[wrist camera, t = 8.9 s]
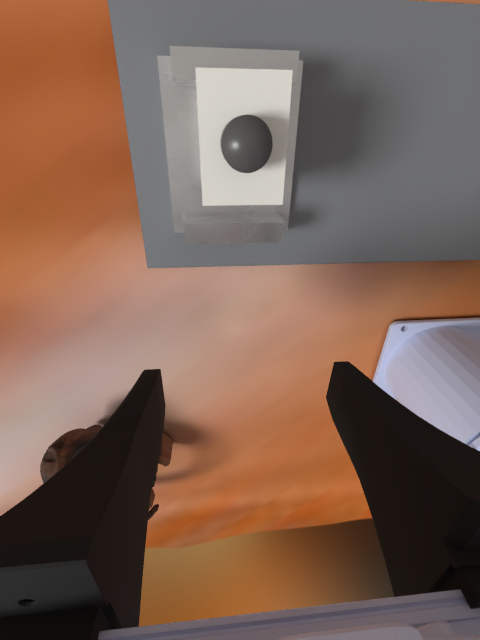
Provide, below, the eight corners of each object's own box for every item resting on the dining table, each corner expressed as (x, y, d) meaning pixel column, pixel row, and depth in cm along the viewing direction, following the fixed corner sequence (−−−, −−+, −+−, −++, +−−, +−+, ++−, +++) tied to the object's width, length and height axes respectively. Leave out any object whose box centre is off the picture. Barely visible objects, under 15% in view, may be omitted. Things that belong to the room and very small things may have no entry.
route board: (577, 17, 15) (599, 10, 14) (477, 254, 22) (489, 259, 21) (111, -7, 13) (105, -16, 12) (150, 262, 20) (147, 268, 19)
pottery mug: (198, 450, 30) (166, 553, 26) (125, 437, 34) (86, 524, 30) (118, 396, 22) (50, 537, 17) (34, 387, 26) (-39, 499, 21)
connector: (263, 88, 14) (301, 64, 9) (260, 182, 17) (288, 210, 11) (197, 87, 14) (194, 62, 9) (202, 183, 16) (202, 211, 11)
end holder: (301, 62, 14) (317, 51, 12) (286, 229, 18) (296, 241, 16) (158, 57, 14) (150, 45, 12) (174, 230, 18) (171, 244, 16)
